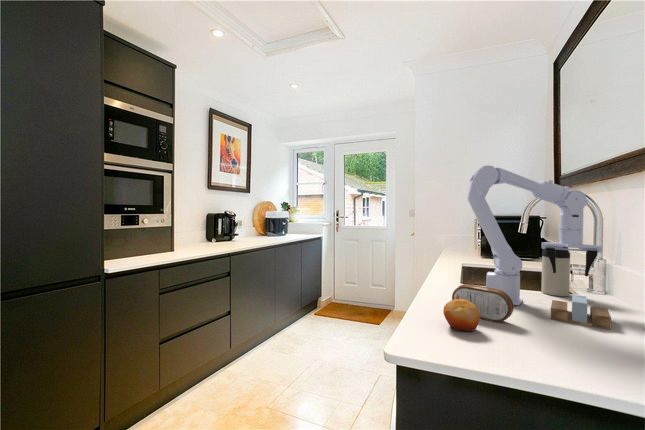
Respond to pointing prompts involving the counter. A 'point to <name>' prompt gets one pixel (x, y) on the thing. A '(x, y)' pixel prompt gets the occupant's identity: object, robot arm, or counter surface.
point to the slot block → (595, 318)
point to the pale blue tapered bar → (579, 308)
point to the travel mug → (559, 280)
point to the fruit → (461, 314)
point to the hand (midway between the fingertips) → (570, 274)
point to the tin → (486, 301)
